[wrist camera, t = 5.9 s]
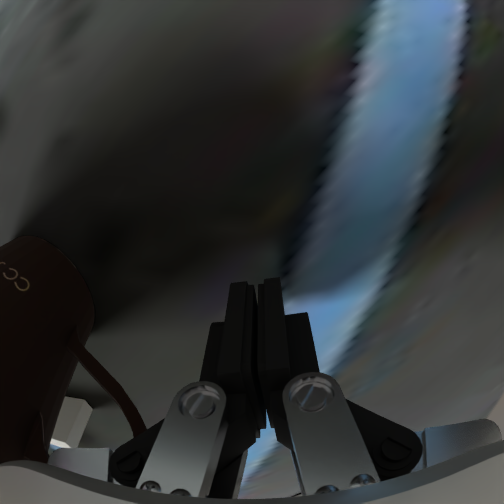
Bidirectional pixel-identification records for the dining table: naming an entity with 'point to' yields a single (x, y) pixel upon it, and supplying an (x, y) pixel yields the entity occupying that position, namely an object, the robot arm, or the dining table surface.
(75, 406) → the open u-shaped frame
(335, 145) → the dining table surface
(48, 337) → the coffee mug
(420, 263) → the dining table surface
